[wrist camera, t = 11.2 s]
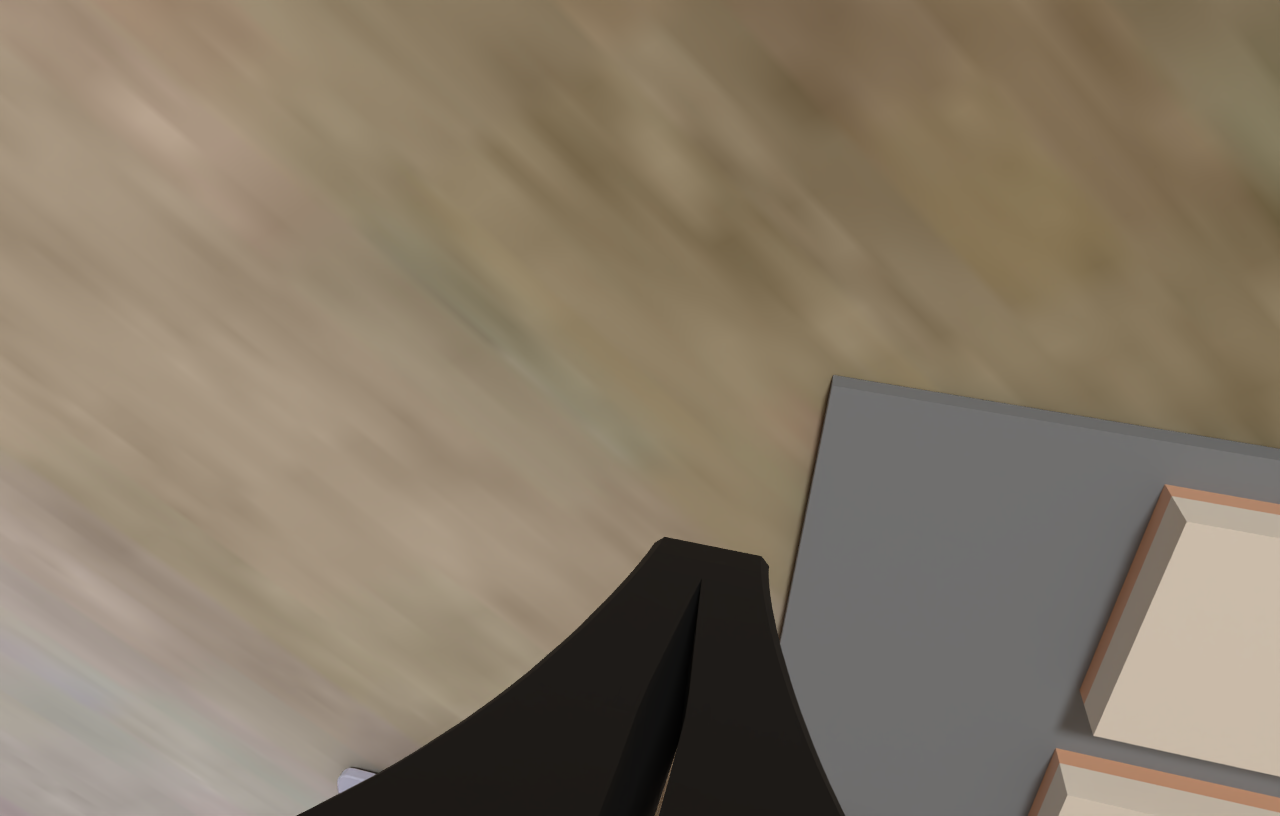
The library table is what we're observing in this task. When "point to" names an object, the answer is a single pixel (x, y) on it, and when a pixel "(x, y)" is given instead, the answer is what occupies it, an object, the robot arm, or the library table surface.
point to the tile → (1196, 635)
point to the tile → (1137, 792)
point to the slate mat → (976, 591)
